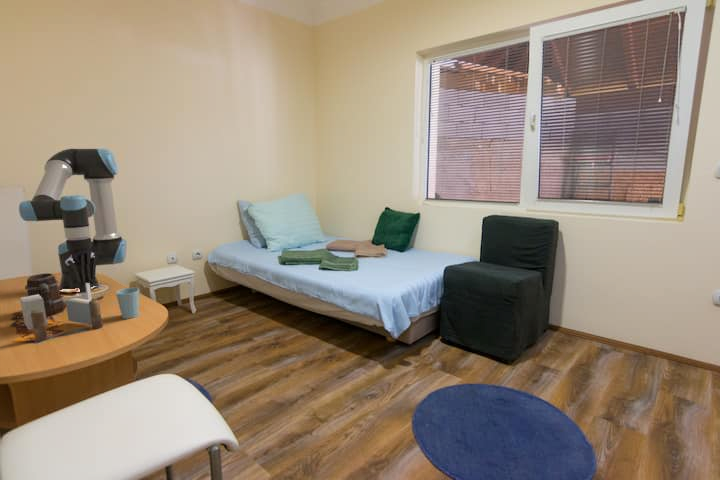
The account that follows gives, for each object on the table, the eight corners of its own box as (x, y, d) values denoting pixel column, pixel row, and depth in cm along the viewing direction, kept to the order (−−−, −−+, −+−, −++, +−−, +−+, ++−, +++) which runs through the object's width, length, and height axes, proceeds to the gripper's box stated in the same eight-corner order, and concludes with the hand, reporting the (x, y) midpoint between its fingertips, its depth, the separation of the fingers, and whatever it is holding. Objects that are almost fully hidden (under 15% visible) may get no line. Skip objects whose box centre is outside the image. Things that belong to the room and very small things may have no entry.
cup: (141, 318, 149) (137, 292, 147) (117, 321, 146) (114, 295, 144) (142, 311, 156) (139, 286, 154) (120, 314, 153) (117, 289, 151)
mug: (25, 312, 155) (19, 276, 152) (63, 304, 164) (57, 270, 161) (30, 323, 144) (23, 284, 141) (70, 314, 153) (64, 278, 150)
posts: (102, 325, 143) (98, 299, 141) (102, 327, 140) (99, 301, 138) (36, 338, 132) (31, 310, 130) (35, 341, 129) (30, 313, 127)
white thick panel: (95, 323, 142) (92, 300, 140) (91, 325, 140) (87, 302, 139) (72, 319, 145) (68, 297, 144) (67, 320, 144) (64, 298, 142)
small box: (48, 325, 142) (43, 298, 140) (28, 330, 138) (23, 302, 136) (43, 320, 147) (39, 293, 145) (24, 324, 143) (19, 297, 141)
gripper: (84, 234, 148) (92, 294, 153) (53, 241, 136) (62, 305, 140) (101, 235, 147) (109, 294, 152) (72, 241, 135) (81, 306, 139)
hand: (87, 299), depth 146 cm, fingers closed
